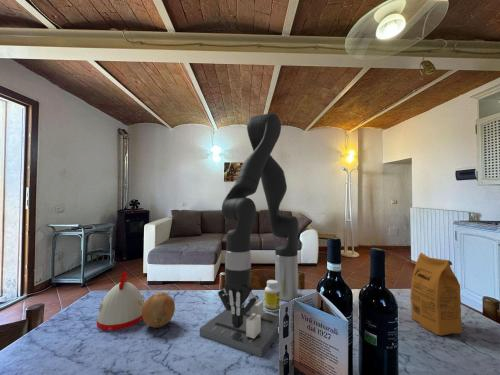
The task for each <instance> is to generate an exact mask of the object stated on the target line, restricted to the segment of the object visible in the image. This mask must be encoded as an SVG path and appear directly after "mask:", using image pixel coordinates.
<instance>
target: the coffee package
mask: <svg viewBox="0 0 500 375" xmlns="http://www.w3.org/2000/svg"><path fill="white" fill-rule="evenodd" d="M452 265H453V263H452V261H451V260H450V259H449V260H448V259H441V258H434V257H430V256H428V255H426V254H425V253H423V252H420V253H419V254H418V258H417V260H416V262H415V267H414V269H413V273H412V277H411V287H410V303H411V304H410V305H411V307H410V308H411V320H413V321H414V322H417V323H419V325H420V326H421V327H422V328H423V329H425V330H427V331H429V332H431V333H433V334H435V335H438V336H445V335H450V334H454V335H455V334H460V333H463V327H462V308H461V306H462V305H461V304H462V299H461V298H462V297H461V284H460V283H459V280H458V279H457V276H456V275H455V273H454V271H453V270H452V267H451V266H452Z"/></svg>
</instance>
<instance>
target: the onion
mask: <svg viewBox="0 0 500 375" xmlns="http://www.w3.org/2000/svg"><path fill="white" fill-rule="evenodd" d="M175 311H176V303H175V301H174V298H173V297H172V296H171V295H169V294H168V293H166V292H164V291H163V292H157V293H156V292H155V293H154V294H153V293H152V294H151V295H150V296H149V297H147V299H146V300H144V305H143V308H142V318H143V319H142V320H143V322H144V324H145V325H146V326H148V327H151V328H153V329H154V328H162V327H164V326H166V324H168V323H169V322H170V321H171V320H172V318H173V317H174V315H175Z"/></svg>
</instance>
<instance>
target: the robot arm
mask: <svg viewBox="0 0 500 375" xmlns="http://www.w3.org/2000/svg"><path fill="white" fill-rule="evenodd" d="M281 123H282V122H281V120H280V117H279V116H278V115H277V114H276V113H274V112H273V113H272V112H270V113H265V114H259V115H254V116H251V117H249V118H248V119H247V123H246V131H247V135H248V139H249V142H250V144H251V145H250V146H251V148H252V150H253V151H252V153H251V154H249V156H248V157H247V158H246V159H245V160H244V161H243V163H242V165H241V166H240V168H239V170H238V175H237V177H236V180H235V183H234V184H233V186H232V187H231V188H230V190H229V191H228V193H227V194H226V196H225V197H224V199H223V202H222V204H221V215H222V217H223V218H224V219H225V220H226V221H231V222H237V223H236V228H233V229H230V230H228V231H227V233H226V239H225V240H226V245H225V246H226V248H225V249H226V251H225V258H224V259H225V262H224V266H225V267H224V268H225V269H224V277H225V278H224V282H225V284H224V286H223V287H224V288H222V289H220V290H219V291H218V292H217V295H218V297H219V298H220V300H221V302H222V304H223V306H224V308H225V310H227V311H229V310H230V311H231V313H232V324H233V325H234V327H235V328H238V329H239V328H240V327H241V325H242V324H243V315H245V314H246V313H247V312H248V311H249V310H250V309H251V308H252V306H253V305H254V304H255V303H256V302H257V300H260V298H259V296H258V295H255V294H254V293H253V292H252V291H253V290H252V287H251V282H252V281H251V280H252V279H251V278H252V271H251V270H252V256H251V234H252V230H253V227H254V223H255V220H256V216H257V207H256V203H255V201H253V199H251V198H249V196H251V195H252V196H253V195H254V194H255V193H256V192H257V190H258V187H259V184H260V181H261V184H262V189H263V192H264V195H265V200H266V204H267V209H268V210H267V211H268V216H269V224H270V230H271V232H272V235H273V236H274V237H277V238H282V239H287V242H286V243H284V244H281V245H279V246H275V248H274V249H275V251H274V253H275V254H274V258H275V261H274V262H275V264H274V265H275V267H274V270H275V273H274V276H275V277H274V278H275V279H274V280H276V281H277V282H278V286H277V287H278V288H279V291H280V299H279V301H285V302H287V301H288V302H292V301H291V300H293V299H295V298H297V299H298V297H299V286H298V284H299V282H298V279H299V277H298V275H299V274H298V273H299V271H298V269H299V265H298V264H299V263H298V262H299V261H298V258H299V256H298V254H299V253H298V252H299V251H298V249H299V231H300V230H299V228H300V227H299V220H298V218H297V217H296V216H295V215H294V216H293V215H281V214H280V206H281V203H282V201H283V199H284V197H285V194H286V192H287V187H288V185H287V180H286V176H285V172H284V169H283V168H282V167H281V165H280V164H279V163H278V162H277V161H276V159H274V158H273V156H272V155H271V153H272V152H273V151H274V147H275V146H276V144H277V142H278V140H279V137H280V134H281V131H282V124H281ZM247 299H248V300H247ZM246 301H248V303H247V304H246ZM293 301H294V300H293ZM244 307H245V308H244Z"/></svg>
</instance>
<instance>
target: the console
mask: <svg viewBox="0 0 500 375" xmlns="http://www.w3.org/2000/svg"><path fill="white" fill-rule="evenodd" d="M245 307H246V306H244V308H245ZM249 316H251V309H250V310H249V311H248V312H247V313H246V314H245V315H243V324H242V325H241V327H240V328H239V329H238V328H235V327H234V325H233V324H232V313H231V311H230V310H229V311H227V310H226V309H225V310H223V311H222V312H220V313H219V314H217V315H216V316H215V317H213V318H212V319H210V320H209V321H208V322H206V323H205V324H203V325H202V326H201V327H200V328H199V336H200V337H203V338H206V339H209V340H212V341H214V342H217V343H220V344H223V345H225V346H229V347H230V348H233V349H237V350H240V351H242V352H246V353H248V354H251V355H252V356H253V355H254V356H257V357H260V358H262V357H263V356H264V355H265V354H266V352H267V351H268V349H269V348H270V347H271V345H272V344H273V342H274V341H275V339H276V338H277V337H278V336H279V334H278V327H279V316H280V315H275V314H272V313H267V312H265V311H263V316H262V317H261V332H260V333H259V334H258V335H257V336H256V337H255V338H251V337H248V336H246V319H247V318H248V317H249Z"/></svg>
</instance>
